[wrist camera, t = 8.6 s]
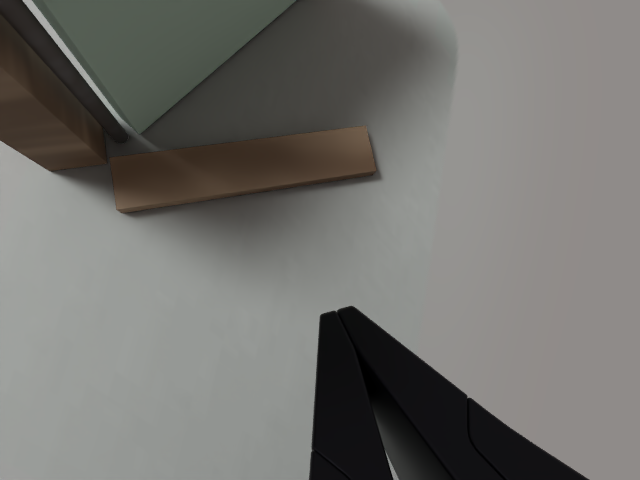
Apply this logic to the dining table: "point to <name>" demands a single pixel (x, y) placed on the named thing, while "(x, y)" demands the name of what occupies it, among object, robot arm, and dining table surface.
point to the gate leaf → (154, 45)
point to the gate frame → (154, 167)
